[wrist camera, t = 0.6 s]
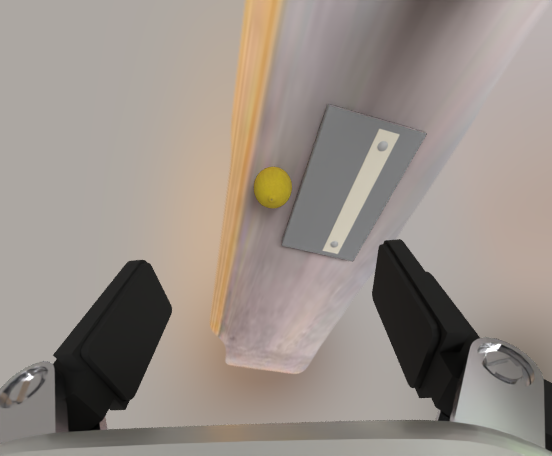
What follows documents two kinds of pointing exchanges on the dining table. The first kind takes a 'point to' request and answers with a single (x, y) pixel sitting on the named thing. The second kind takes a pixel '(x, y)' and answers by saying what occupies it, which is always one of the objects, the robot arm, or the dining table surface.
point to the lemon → (272, 187)
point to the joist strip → (361, 188)
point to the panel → (345, 180)
